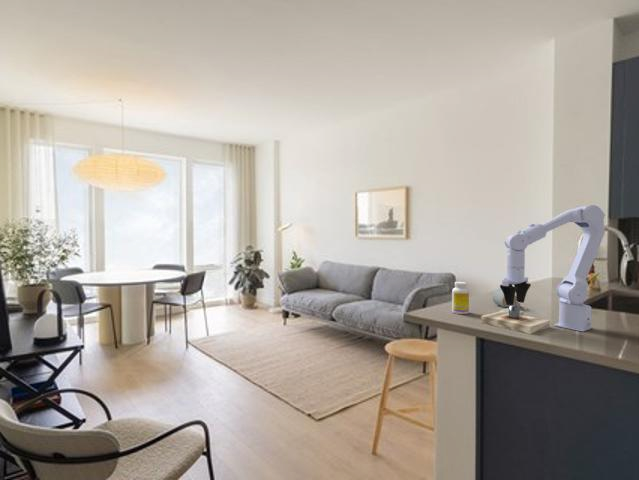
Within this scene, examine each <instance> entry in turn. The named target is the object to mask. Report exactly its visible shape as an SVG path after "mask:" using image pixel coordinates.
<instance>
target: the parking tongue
mask: <svg viewBox="0 0 639 480" xmlns="http://www.w3.org/2000/svg"><path fill="white" fill-rule="evenodd" d="M499 311H504V312H509V308H502V309H499V310H497V312H499ZM524 312H525V311H524V310H520V315H524V316H525V313H524Z"/></svg>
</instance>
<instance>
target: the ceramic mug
mask: <svg viewBox="0 0 639 480" xmlns="http://www.w3.org/2000/svg"><path fill="white" fill-rule="evenodd" d="M492 301H493V304H495V305H498V306H500V307H502V308H504V309H506V308H508V309H509V305H507V304H506V301H505V297H504V294H503V291H502V290H501V288H497V289H495V290H494V291H493V292H492ZM513 305H517V306H520V307H521V302H517V297H516V295H515V296H514V303H513Z"/></svg>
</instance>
